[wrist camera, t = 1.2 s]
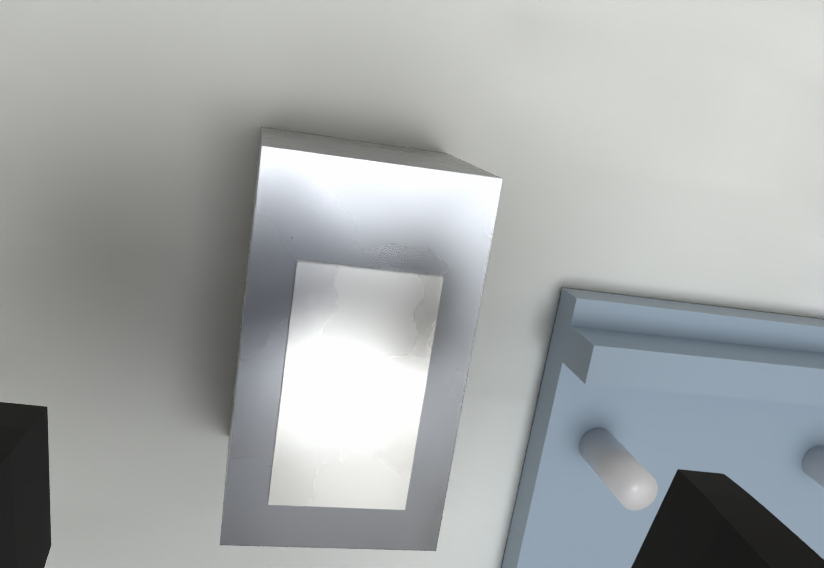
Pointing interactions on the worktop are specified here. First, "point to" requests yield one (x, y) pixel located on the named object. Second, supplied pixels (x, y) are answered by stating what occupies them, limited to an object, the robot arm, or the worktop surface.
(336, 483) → the block
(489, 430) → the worktop surface
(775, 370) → the tray
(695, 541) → the robot arm
